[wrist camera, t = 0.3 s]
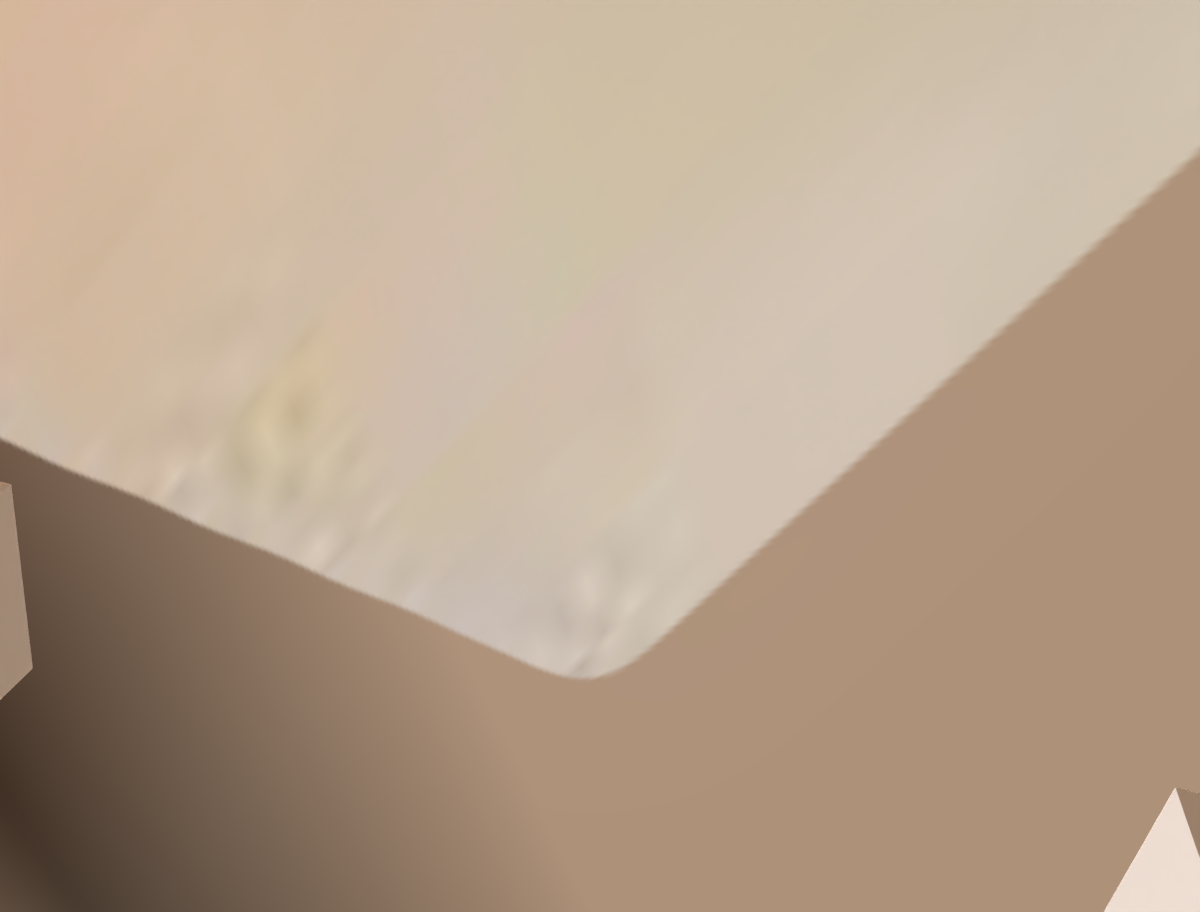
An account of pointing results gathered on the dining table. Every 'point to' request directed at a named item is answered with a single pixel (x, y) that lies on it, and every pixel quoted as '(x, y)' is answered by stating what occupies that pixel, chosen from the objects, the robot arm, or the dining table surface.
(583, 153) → the dining table surface
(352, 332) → the dining table surface
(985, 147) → the dining table surface
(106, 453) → the dining table surface
